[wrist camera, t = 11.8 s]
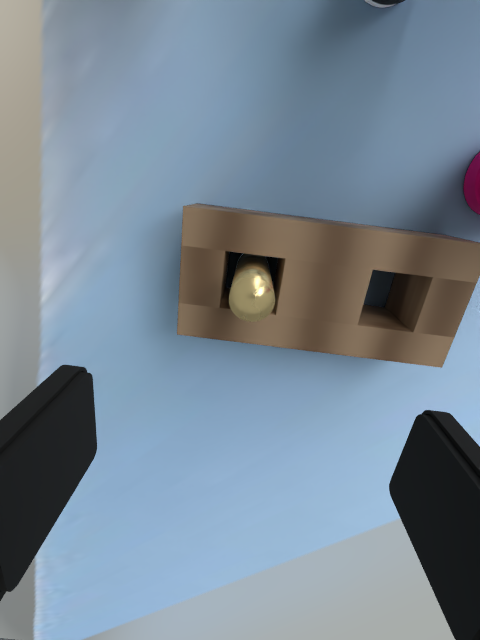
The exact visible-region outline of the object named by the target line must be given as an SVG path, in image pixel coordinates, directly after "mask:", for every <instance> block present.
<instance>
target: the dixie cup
mask: <svg viewBox="0 0 480 640" xmlns="http://www.w3.org/2000/svg"><path fill="white" fill-rule="evenodd" d="M365 1H366V2H367V3H369V4H370V5H372V6H375V7H380V8H384V7H390V6H393V5H395V4H397V3H400V2H403V1H405V0H365Z"/></svg>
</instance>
